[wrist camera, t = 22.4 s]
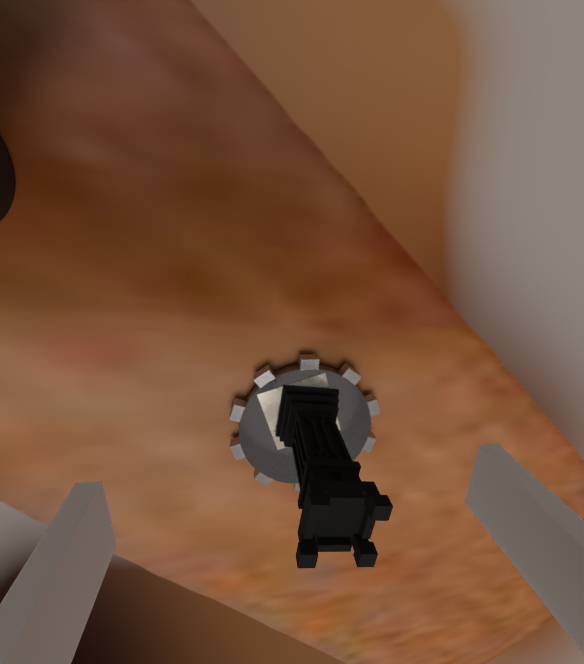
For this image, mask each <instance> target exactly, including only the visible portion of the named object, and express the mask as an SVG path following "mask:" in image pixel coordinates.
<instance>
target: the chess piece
mask: <svg viewBox="0 0 584 664" xmlns="http://www.w3.org/2000/svg"><path fill="white" fill-rule="evenodd" d="M338 396H339V390H338V389H331V388H319V387H306V386H293V385H283V389H282V395H281V401H280V407H279V413H278V420H277V426H276V432H275V435H276V437H279V439H280V442H284V447H292V450H293V455H294V461H295V466H296V471H297V476H298V482H299V487H300V494H299V499H298V507H299V509H302V514H301V519H300V524H299V528H298V537H299V543H298V547H297V552H296V560H297V567H298V568H315V566H316V562H317V558H318V552H345V551H351V547H352V546H353V549H354V554H353V555H354V558H355V561H356V564H357V567H374V565H375V561H376V558H377V555H378V553H377V551H376V548H375V546H374V543H373V542H369V540H368V539H370V537H371V534H372V530H373V527H374V524H375V520H379V521H388V520H389V517H390V514H391V511H392V508H393V505H392V504H391V502H390V500H389V498H388V496H387V495H380V493H379V491H378V489H377V487H376V485H375V483H374V482H366V481H361V480H360V477H359V472H360V468H361V466H360V464H359V462H356V461H352V459H351V457H350V454H349V452H348V450H347V447H346V445H345V443H344V440H343V438H342V436H341V433H340V431H339V429H338V426H337V424H336V419H337V415H338V410H339V408H338V403H339V399H338Z"/></svg>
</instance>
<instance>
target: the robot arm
mask: <svg viewBox="0 0 584 664" xmlns="http://www.w3.org/2000/svg"><path fill="white" fill-rule="evenodd" d="M13 194H14V172H13V167H12V163H11V159H10V157H9V154H8V151H7V149H6V147H5V145H4V143H3V141H2V140H1V138H0V220H1V219H2V218H3V217H4V216H5V214H6V213H7V211H8V209H9V207H10V205H11V202H12V199H13ZM465 503H466V504H467V505H468V506H469V508H470V509H471V510H472V512H473V513H474V514H475V515H476V517H477V518H478V519H479V521H480V522H481V523H482V524H483V526H484V527H485V528H486V530H487V531H488V532H489V534H490V535H491V536H492V537H493V539H494V540H495V541H496V543H497V544H498V545H499V546H500V548H501V549H502V550H503V552H504V553H505V554H506V555H507V557H508V558H509V559H510V561H511V562H512V563H513V564H514V566H515V567H516V568H517V570H518V571H519V572H520V573H521V575H522V576H523V577H524V579H525V580H526V581H527V583H528V584H529V585H530V586H531V588H532V589H533V590H534V592H535V593H536V594H537V595H538V597H539V598H540V599H541V601H542V602H543V603H544V604H545V606H546V607H547V608H548V610H549V611H550V612H551V613H552V615H553V616H554V617H555V619H556V620H557V621H558V622H559V624H560V625H561V626H562V628H563V629H564V630H565V631H566V633H567V634H568V635H569V637H570V638H571V639H572V641H573V642H574V643H575V644H576V646H577V647H578V648H579V650H580V651H581V652H582V653H583V655H584V520H583V519H581V518H580V517H579V516H578V515H577V514H576V513H575V512H574V511H572V510H571V509H570V508H569V507H568V506H567V505H566V504H565V503H564V502H562V501H561V500H560V499H559V498H558V497H557V496H556V495H555V494H553V493H552V492H551V491H550V490H549V489H548V488H547V487H546V486H545V485H543V484H542V483H541V482H540V481H539V480H538V479H537V478H536V477H534V476H533V475H532V474H531V473H530V472H529V471H528V470H527V469H526V468H524V467H523V466H522V465H521V464H520V463H519V462H518V461H517V460H515V459H514V458H513V457H512V456H511V455H510V454H509V453H508V452H507V451H505V450H504V449H503V448H502V447H501V446H500V445H499V444H498V443H497V444H486V445H479V447H478V451H477V455H476V459H475V463H474V467H473V471H472V475H471V479H470V483H469V487H468V491H467V495H466V499H465ZM116 544H117V542H116V538H115V534H114V530H113V526H112V521H111V517H110V513H109V509H108V505H107V501H106V496H105V492H104V488H103V484H102V481H96V482H85V483H76V484H75V485H74V487H73V488H72V490H71V492H70V493H69V495H68V496H67V498H66V500H65V501H64V503H63V504H62V506H61V508H60V509H59V511H58V512H57V514H56V516H55V517H54V519H53V521H52V522H51V524H50V525H49V527H48V529H47V530H46V532H45V534H44V535H43V537H42V538H41V540H40V541H39V543H38V545H37V546H36V548H35V549H34V551H33V553H32V554H31V556H30V557H29V559H28V561H27V563H26V564H25V566H24V567H23V569H22V570H21V572H20V573H19V575H18V577H17V578H16V580H15V582H14V583H13V585H12V586H11V588H10V589H9V591H8V593H7V594H6V596H5V598H4V599H3V601H2V602H1V604H0V664H71V661H72V659H73V656H74V654H75V651H76V648H77V646H78V643H79V640H80V638H81V635H82V633H83V630H84V628H85V625H86V623H87V620H88V617H89V615H90V612H91V610H92V607H93V604H94V602H95V598H96V596H97V594H98V591H99V589H100V586H101V583H102V581H103V578H104V576H105V573H106V570H107V567H108V565H109V563H110V560H111V557H112V555H113V552H114V550H115V547H116Z"/></svg>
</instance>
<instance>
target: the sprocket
mask: <svg viewBox="0 0 584 664" xmlns="http://www.w3.org/2000/svg"><path fill="white" fill-rule="evenodd" d="M361 378H362V377H361V375H360V374H359V372H358V371H356V370H355V369H353V368H352V367H351V366H349V365H348V364H346V363H345V364H344V365H343V366H342V367H341V369H340V370H339V371H338V370H336V369H333V368H331V367H328V366H324V365H319V358H318V356H317V354H314V355H299V365H293V366H290V367H286V368H283V369H281V370H278V371H276V372H274V371H273V370H272V369H271V367H270V366H269V365H267V366H265V367H264V368H262V369H261V370H259V371H258V372H257V373H255V374H254V381H255V383H256V384H257V385H256V386H255V388H254V389H253V390H252V391H251V392H250V394H249V395H248V397H247V398H246V400H245V401H244V400H240V399H236V398H235V399H234V402H233V405H232V408H231V411H230V416H229V420H231V421H236V422H239V437H236V438H233V439H231V441H230V448H231V450H232V453H233V455H234V457H235V459H236V460H238V459H241V458H244V457H246V458H247V460H248V461H249V462H250V464H251V465H252V466H253V467H254V468H255V470H254V479H255V480H257V481H259V482H261V483H263V484H265V485H267V486H268V485H269V484H270V482H271V481H272V480H273V479H274V480H277V481H281V482H286V483H294V489H295V491H300V487H299V482H298V476H297V471H296V466H295V461H294V455H293V450H292V447H284V442H280V439H279V437H276V435H275V432H276V426H277V420H278V413H279V407H280V401H281V395H282V389H283V385H293V386H306V387H319V388H331V389H338V390H339V396H338V399H339V403H338V408H339V410H338V415H337V419H336V424H337V426H338V429H339V431H340V433H341V436H342V438H343V440H344V443H345V445H346V447H347V450H348V452H349V454H350V457H351V459H352V461H353V460H354V459H355V458H356V457H357V456H358V455H359V453H360V452H361V450H362V451H366V452H370V451H371V449H372V447H373V445H374V443H375V441H376V437H375V435H374V434H373V432H370V425H371V416H374V415H377V414H380V411H379V406H378V402H377V399H376V397H375V396H374V394H373V393H372V394H369V395H366V396H363V394H362V393H361V391H360V390H359V388H358V387H357V385H356V384H357V383H358V381H359V380H360V379H361Z"/></svg>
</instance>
